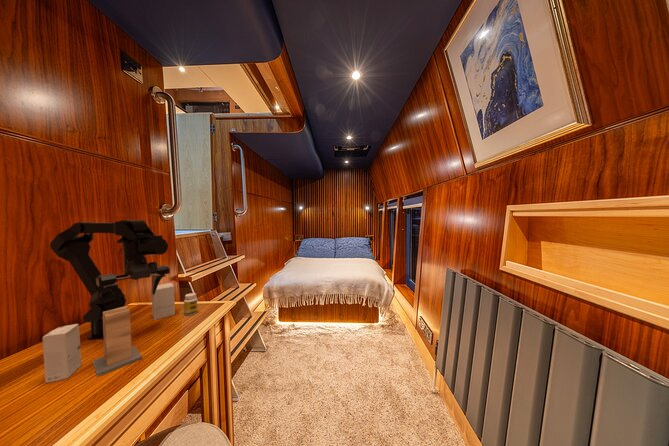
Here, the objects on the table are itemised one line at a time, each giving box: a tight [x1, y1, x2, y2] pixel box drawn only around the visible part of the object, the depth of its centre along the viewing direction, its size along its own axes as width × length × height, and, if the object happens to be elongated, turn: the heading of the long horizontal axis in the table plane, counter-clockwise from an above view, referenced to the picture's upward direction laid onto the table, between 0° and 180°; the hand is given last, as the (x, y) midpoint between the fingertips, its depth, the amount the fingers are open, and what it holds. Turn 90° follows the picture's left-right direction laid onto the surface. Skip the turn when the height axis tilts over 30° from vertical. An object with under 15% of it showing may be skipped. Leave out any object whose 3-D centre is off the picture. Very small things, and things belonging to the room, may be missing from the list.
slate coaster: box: [92, 345, 143, 378], centre depth 64 cm, size 9×9×1 cm
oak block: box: [103, 305, 132, 366], centre depth 64 cm, size 5×5×14 cm
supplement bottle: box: [183, 292, 198, 317], centre depth 95 cm, size 5×5×8 cm
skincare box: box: [42, 323, 82, 384], centre depth 59 cm, size 6×4×12 cm
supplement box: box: [150, 282, 176, 321], centre depth 94 cm, size 7×7×13 cm
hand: (137, 298), depth 78 cm, fingers open, 9 cm apart
